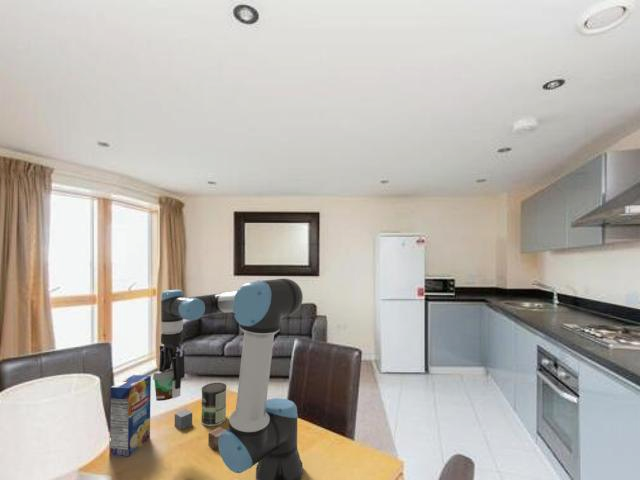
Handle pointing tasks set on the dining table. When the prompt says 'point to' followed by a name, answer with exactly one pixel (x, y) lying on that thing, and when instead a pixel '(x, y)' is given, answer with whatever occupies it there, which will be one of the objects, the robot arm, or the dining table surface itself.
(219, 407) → the coffee can
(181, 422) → the gray block
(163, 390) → the patterned half-round container
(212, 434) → the walnut block
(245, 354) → the robot arm
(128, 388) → the juice carton
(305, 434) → the dining table surface
